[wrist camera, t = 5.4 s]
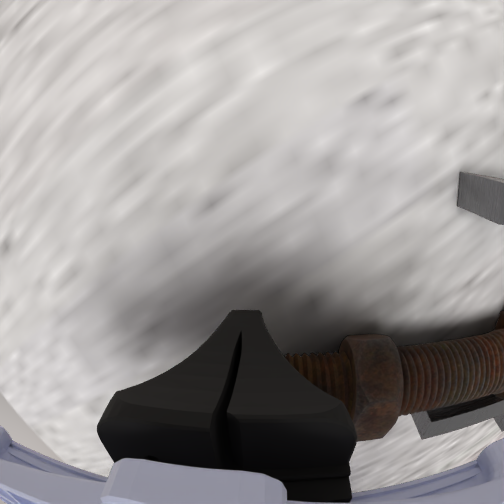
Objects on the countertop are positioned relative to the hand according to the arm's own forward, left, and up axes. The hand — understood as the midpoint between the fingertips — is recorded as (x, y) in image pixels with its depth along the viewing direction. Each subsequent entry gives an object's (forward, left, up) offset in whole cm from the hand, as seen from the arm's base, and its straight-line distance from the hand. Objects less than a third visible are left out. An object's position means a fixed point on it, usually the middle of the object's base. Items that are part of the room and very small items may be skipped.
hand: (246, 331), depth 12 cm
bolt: (-2, -8, -2) cm, 9 cm away
